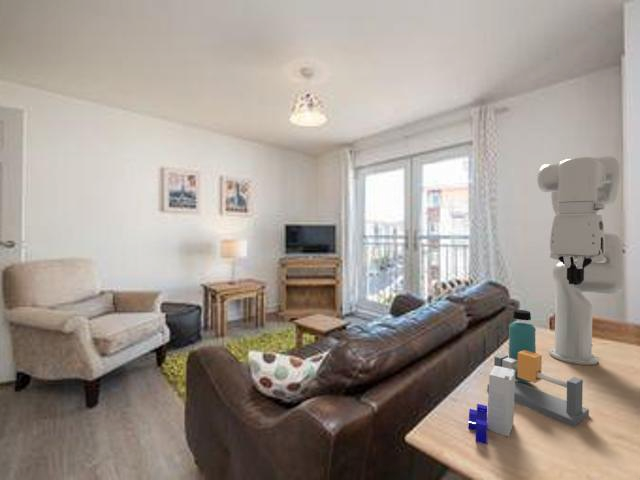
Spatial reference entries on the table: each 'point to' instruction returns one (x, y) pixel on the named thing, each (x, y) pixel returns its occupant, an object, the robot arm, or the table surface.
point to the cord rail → (548, 396)
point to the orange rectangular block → (529, 365)
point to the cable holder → (479, 422)
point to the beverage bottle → (521, 336)
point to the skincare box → (501, 400)
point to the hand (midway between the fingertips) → (575, 283)
